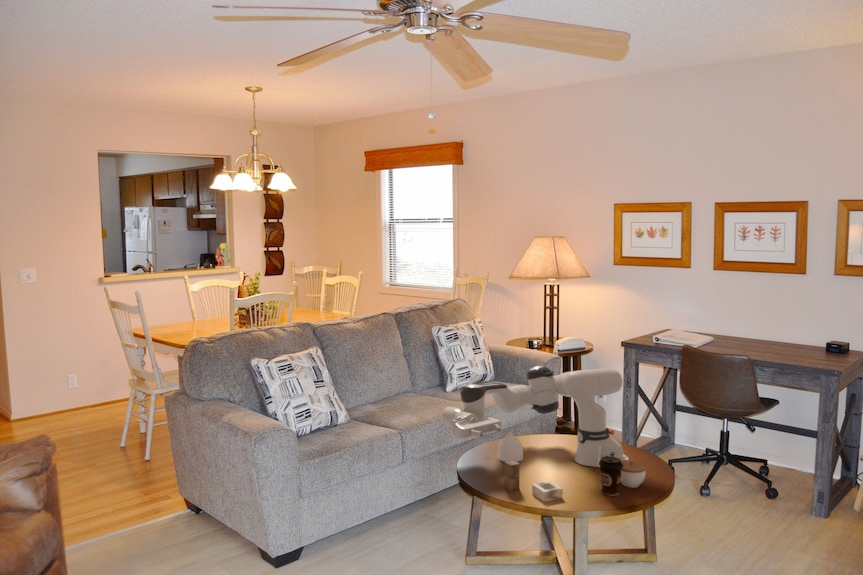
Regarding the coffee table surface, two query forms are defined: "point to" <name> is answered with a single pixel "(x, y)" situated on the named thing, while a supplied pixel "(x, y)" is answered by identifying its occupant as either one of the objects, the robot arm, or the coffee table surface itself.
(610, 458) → the coffee cup
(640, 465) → the lidded jar
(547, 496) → the birch plinth
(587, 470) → the coffee table surface
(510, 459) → the teardrop
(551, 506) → the coffee table surface
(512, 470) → the walnut pillar
